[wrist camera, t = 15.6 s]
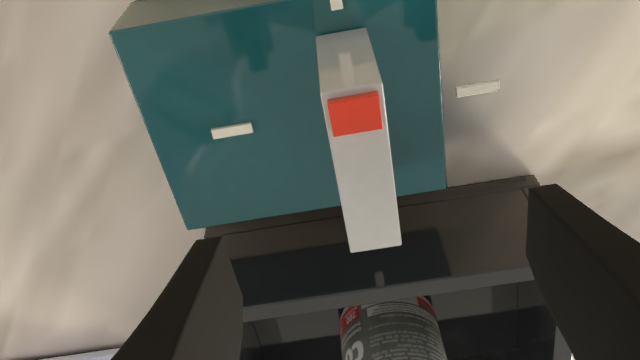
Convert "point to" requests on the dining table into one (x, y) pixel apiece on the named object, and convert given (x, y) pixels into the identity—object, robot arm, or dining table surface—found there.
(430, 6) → the teal flat box
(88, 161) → the dining table surface
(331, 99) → the white rectangular block
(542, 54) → the dining table surface
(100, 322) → the dining table surface
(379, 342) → the pill bottle
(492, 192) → the dark open box
